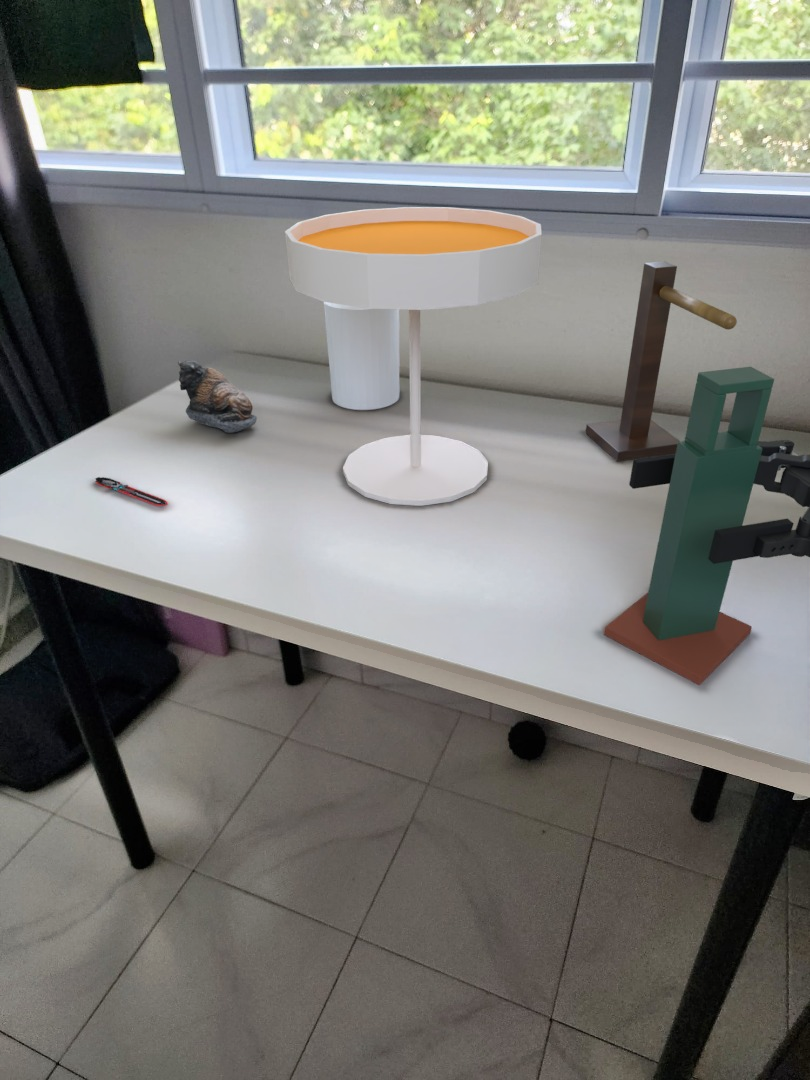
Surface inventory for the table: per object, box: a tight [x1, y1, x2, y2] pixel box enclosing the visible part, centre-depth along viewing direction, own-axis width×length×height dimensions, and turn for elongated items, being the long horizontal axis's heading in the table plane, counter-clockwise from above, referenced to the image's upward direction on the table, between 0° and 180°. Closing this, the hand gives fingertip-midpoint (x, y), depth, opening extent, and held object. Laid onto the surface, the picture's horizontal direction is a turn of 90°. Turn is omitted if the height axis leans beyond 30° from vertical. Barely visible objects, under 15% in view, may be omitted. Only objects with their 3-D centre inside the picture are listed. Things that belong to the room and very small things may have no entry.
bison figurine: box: [177, 359, 258, 434], centre depth 114 cm, size 12×7×10 cm, turn 66°
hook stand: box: [585, 260, 738, 462], centre depth 98 cm, size 22×10×25 cm, turn 14°
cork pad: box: [603, 592, 753, 686], centre depth 72 cm, size 10×10×1 cm
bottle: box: [323, 302, 400, 411], centre depth 119 cm, size 12×12×25 cm
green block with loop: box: [643, 366, 775, 640], centre depth 66 cm, size 3×6×25 cm, turn 104°
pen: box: [94, 476, 169, 507], centre depth 98 cm, size 2×14×1 cm, turn 57°
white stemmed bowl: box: [284, 206, 543, 507], centre depth 95 cm, size 30×30×31 cm
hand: (670, 507), depth 64 cm, fingers open, 12 cm apart
